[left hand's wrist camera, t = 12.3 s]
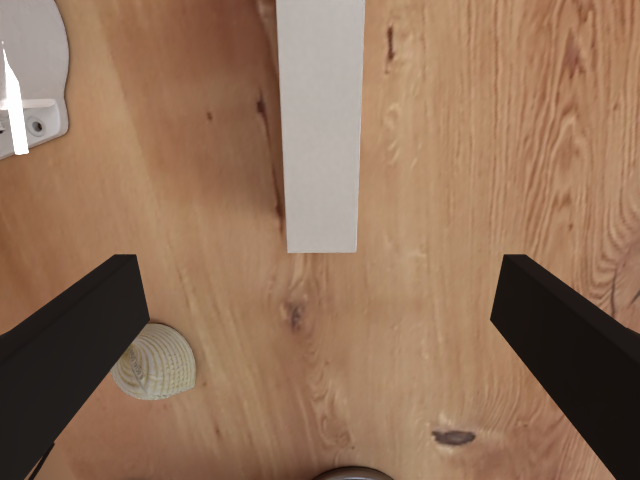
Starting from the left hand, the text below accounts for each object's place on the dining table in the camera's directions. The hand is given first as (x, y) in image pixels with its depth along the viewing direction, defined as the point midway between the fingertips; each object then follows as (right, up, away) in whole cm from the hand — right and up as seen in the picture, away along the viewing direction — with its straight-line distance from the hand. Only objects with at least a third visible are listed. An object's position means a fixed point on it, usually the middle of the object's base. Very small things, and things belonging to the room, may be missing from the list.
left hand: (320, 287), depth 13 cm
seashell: (-19, -12, +28) cm, 36 cm away
